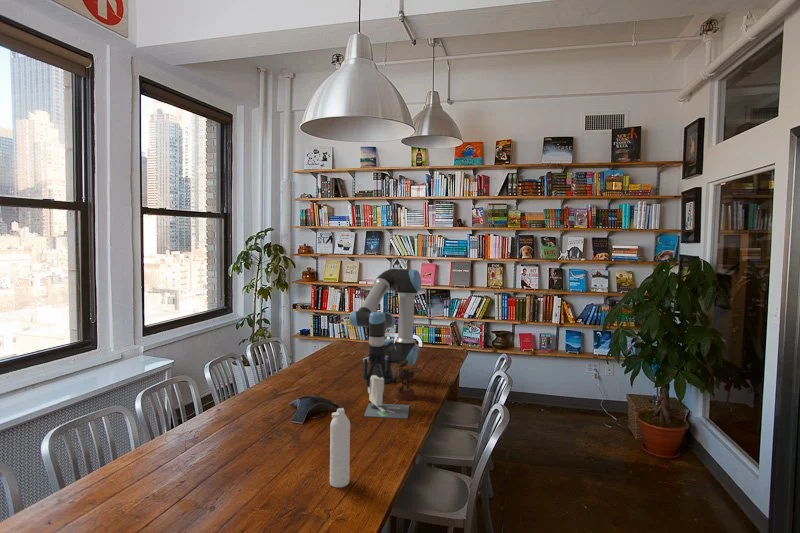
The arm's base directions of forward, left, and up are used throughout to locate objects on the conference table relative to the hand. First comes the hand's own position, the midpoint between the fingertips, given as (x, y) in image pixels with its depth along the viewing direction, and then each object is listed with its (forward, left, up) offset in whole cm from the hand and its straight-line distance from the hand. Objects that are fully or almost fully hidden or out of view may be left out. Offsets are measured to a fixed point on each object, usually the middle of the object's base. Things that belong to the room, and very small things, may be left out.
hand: (375, 392), depth 214 cm
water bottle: (+68, -4, -8) cm, 69 cm away
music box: (-18, +13, -8) cm, 24 cm away
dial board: (+3, +6, -8) cm, 10 cm away
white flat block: (+2, +1, -7) cm, 8 cm away
